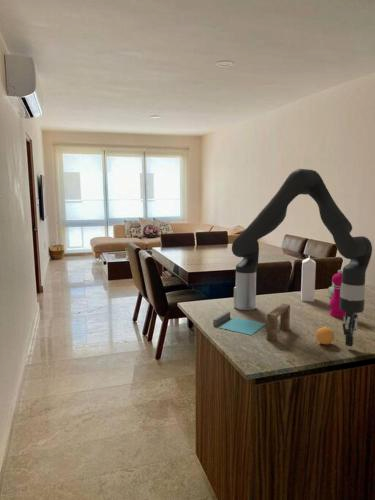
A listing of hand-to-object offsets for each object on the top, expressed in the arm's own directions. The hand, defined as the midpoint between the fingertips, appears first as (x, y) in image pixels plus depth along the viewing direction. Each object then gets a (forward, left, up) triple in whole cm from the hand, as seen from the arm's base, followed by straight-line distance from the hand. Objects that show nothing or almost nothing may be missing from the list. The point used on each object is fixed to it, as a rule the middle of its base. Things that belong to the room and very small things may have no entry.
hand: (349, 345), depth 127 cm
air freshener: (-17, +60, -2) cm, 62 cm away
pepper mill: (-11, +34, -2) cm, 36 cm away
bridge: (-25, 0, -1) cm, 25 cm away
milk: (-29, +50, -2) cm, 58 cm away
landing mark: (-40, 0, -1) cm, 40 cm away
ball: (-8, 0, +2) cm, 8 cm away
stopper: (-49, 0, -1) cm, 50 cm away
